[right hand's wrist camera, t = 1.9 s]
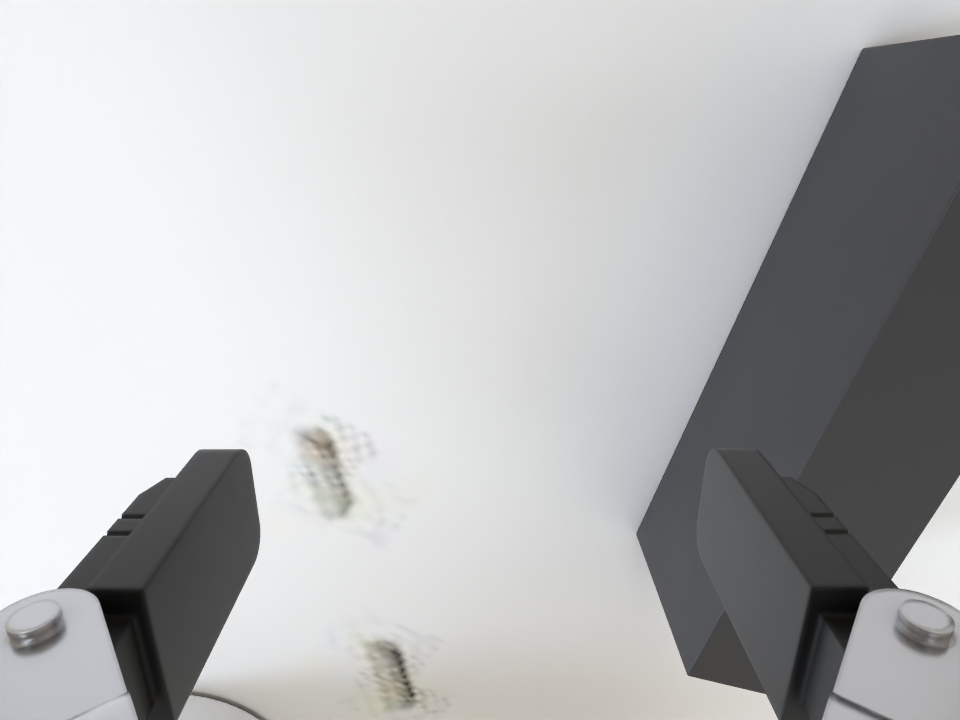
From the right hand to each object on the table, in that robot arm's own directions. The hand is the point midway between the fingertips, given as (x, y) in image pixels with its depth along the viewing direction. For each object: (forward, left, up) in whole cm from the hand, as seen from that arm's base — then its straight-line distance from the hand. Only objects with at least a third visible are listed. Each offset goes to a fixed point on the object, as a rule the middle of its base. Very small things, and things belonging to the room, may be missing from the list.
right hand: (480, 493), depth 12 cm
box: (-4, +16, -23) cm, 28 cm away
